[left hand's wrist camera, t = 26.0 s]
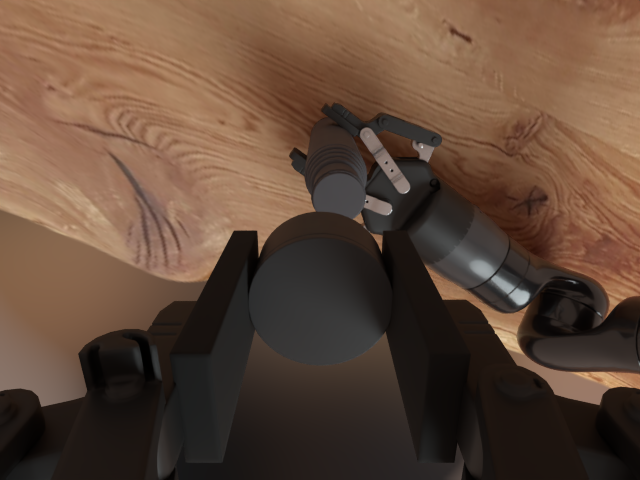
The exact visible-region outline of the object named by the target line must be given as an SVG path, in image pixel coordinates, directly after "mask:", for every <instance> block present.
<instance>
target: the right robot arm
mask: <svg viewBox="0 0 640 480" xmlns="http://www.w3.org/2000/svg"><path fill="white" fill-rule="evenodd" d="M321 111H322V112H323V113H324V114H325V115H327V116H328V117H329V118H331V119H332V120H333V121H335V122H336V123H337V124H339V125H340V126H341V127H343V128H344V129H345V130H347V131H348V132H349V133H350V134H352V135H353V136H354V137H355V136H356V135H357V136H358V137H360V138H361V139H362V141H363V142H364V144H365V145H366V146H367V148H368V149H369V151H370V152H371V153H372V155H373V156H374V158H375V159H376V162H375V163H374V164H373V166H372V167H371V170H370V172H369V174H368V175H367V182H366V186H365V192H366V202H365V205H364V208H363V209H362V211H361V214H362V217H363V221H364V223H362V224H361V225H362V226H363V227H364V228H365V229H366V230H368V231H369V233H372V234H379V235H382V236H383V231H407V233H408V235H409V237H410V239H411V241H412V242H413V244H414V246H415V248H416V250H417V252H418V254H419V256H420V258H421V260H422V262H423V263H424V265H426V266H427V267H428V268H430V269H431V270H433V271H434V272H435V273H437V274H438V275H440V276H441V277H443V278H445V279H446V280H448V281H450V282H452V283H454V284H456V285H458V286H459V287H461V288H462V289H464V290H465V291H467V292H468V293H469V294H471V295H472V296H474V297H475V298H476V299H478V300H479V301H480V302H482V303H483V304H485V305H486V306H487V307H489V308H491V309H492V310H494V311H496V312H499V313H503V314H511V313H515V312H518V311H520V310H522V309H523V308H525V307H526V306H527V305H529V306H528V308H527V310H526V312H525V315H524V317H523V319H522V321H521V323H520V326H519V328H518V332H517V341H518V345H519V347H520V348H521V350H522V351H523V353H524V354H525V355H526V356H527V357H528V358H530V359H531V360H532V361H534V362H535V363H537V364H539V365H541V366H544V367H546V368H550V369H554V370H558V371H566V372H619V373H634V374H640V296H633V297H629V298H626V299H624V300H623V301H621V302H620V303H619V304H618V305H617V306H616V307H615V308H614V309H613V310H612V311H611V313H610V314H609V315H608V317H607V318H606V316H607V313H608V310H609V298H608V295H607V293H606V291H605V289H604V288H603V287H602V285H601V284H600V283H599V282H597V281H596V280H595V279H593V278H591V277H588V276H586V275H584V274H581V273H578V272H575V271H572V270H569V269H566V268H564V267H561V266H558V265H556V264H554V263H552V262H549V261H547V260H545V259H543V258H541V257H538V256H536V255H534V254H533V253H531V252H529V251H528V250H527V249H526V248H524V247H523V246H522V245H521V244H519V243H518V242H517V241H515V240H514V239H513V238H511V237H510V236H509V235H508V234H506V233H505V232H504V231H503V230H502V229H501V228H500V227H499V226H498V225H497V224H496V223H495V222H494V221H493V220H492V219H491V218H490V217H489V216H487V215H486V214H485V213H484V212H482V211H481V210H480V209H479V207H477V206H476V205H474V204H472V203H471V202H469V201H468V200H467V199H466V198H464V197H463V196H462V195H460V194H459V193H458V192H457V191H455V190H454V189H453V188H451V187H450V186H449V185H448V184H446V183H445V182H444V181H442V180H441V179H440V178H439V177H437V176H436V175H435V174H434V173H433V171H432V169H431V166H430V164H429V163H428V161H429V159H430V157H431V155H432V152H433V150H434V148H435V147H438V146H439V145H440V144H441V142H442V138H441V136H440V135H439V134H437V133H435V132H434V131H432V130H429V129H426V128H424V127H421V126H418V125H416V124H413V123H410V122H407V121H405V120H402V119H399V118H397V117H394V116H391V115H388V114H386V113H379V114H377V116H376V117H374V118H373V119H371V120H370V121H366V122H365V121H361V120H360V119H359V118H357V117H356V116H355V115H353V114H352V113H351V112H350V111H348V110H347V109H346V108H344V107H343V106H342V105H341V104H338V103H334V104H333V105H332V106H331V107H330V106H329V105H328V104H326V103H325V105H324V106H323V108H322V109H321ZM383 130H387V131H390V132H393V133H395V134H398V135H401V136H404V137H406V138H409V139H411V146H412V147H413V148H414V149H415V150H417V152H418V156H417V157H391V156H390V155H389V154H388V152H387V151H386V149H385V148H384V147H383V145H382V144H381V142H380V141H379V139H378V138H377V136H376V135H377V134H379V133H380V132H382V131H383ZM289 157H290V158H291V159H292V160H293V161H292V164H291V165H292V166H293V168H294V169H295V170H296V171H298V172H299V173H301V174H302V175H304V176H305V166H306V160H307V155H305V154H304V153H303V152H301V151H300V150H298V149H297V148H295V147H294V148H293V150H292V151H291V153H290V155H289ZM605 318H606V319H605Z"/></svg>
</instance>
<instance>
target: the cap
mask: <svg viewBox="0 0 640 480" xmlns="http://www.w3.org/2000/svg"><path fill="white" fill-rule="evenodd" d="M392 297H393V289H392V285H391V281H390V279H389V275H388V272H387V269H386V266H385V263H384V260H383V257H382V254H381V251H380V248H379V246H378V244H377V242H376V241H375V239H374V237H373V236H372V235H371V234H370V233H369V231H368V230H366V229H365V228H364V227H363V226H362V225H361V224H359V223H358V222H356V221H355V220H353V219H351V218H349V217H346V216H344V215H341V214H337V213H332V212H310V213H305V214H301V215H298V216H296V217H293V218H291V219H289V220H287V221H286V222H284V223H283V224H281V225H280V226H279V227H277V228H276V229H275V230H274V231H273V232H272V233H271V235H270V236H269V237H268V239H267V240H266V242H265V244H264V246H263V248H262V251H261V253H260V256H259V259H258V262H257V265H256V269H255V272H254V275H253V278H252V281H251V284H250V288H249V293H248V305H249V314H250V318H251V321H252V323H253V326H254V328H255V329H256V331H257V333H258V334H259V336H260V337H261V338H262V340H263V341H264V342H265V343H266V344H267V345H268V346H269V347H270V348H272V349H273V350H274V351H276V352H277V353H279V354H280V355H282V356H284V357H286V358H288V359H290V360H293V361H296V362H299V363H304V364H309V365H333V364H338V363H343V362H346V361H349V360H352V359H354V358H356V357H358V356H360V355H362V354H363V353H365V352H366V351H368V350H369V349H370V348H371V347H373V346H374V345H375V344H376V343H377V342H378V341H379V340H380V338H381V337H382V335H383V334H384V333H385V331H386V329H387V327H388V325H389V323H390V320H391V311H392Z"/></svg>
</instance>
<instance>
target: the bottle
mask: <svg viewBox="0 0 640 480" xmlns="http://www.w3.org/2000/svg"><path fill="white" fill-rule="evenodd" d="M305 182H306V186H307V189H308V191H309V193H310V194H311V200H312V204H313V207H314V209H315V210H316V212H332V213H337V214H341V215H344V216H346V217H349V218H351V219H353V218H355V217H356V216H357V215H358V214H360V212H361V211H362V209H363V208H364V205H365V202H366V192H365V186H366V182H367V170H366V165H365V162H364V160H363V158H362V156H361V154H360V151H359V149H358V147H357V145H356V143H355V141H354V138H353V136H352V134H350V133H349V132H348V131H347V130H345V129H344V128H343V127H341V126H340V125H339V124H337V123H336V122H335V121H333V120H332V119H331V118H329V117H326V118H323V119H321V120H320V121H318V122H317V123H316V124H315V125H314V127H313V129H312V132H311V136H310V142H309V148H308V154H307V160H306V166H305Z"/></svg>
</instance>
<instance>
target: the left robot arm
mask: <svg viewBox="0 0 640 480" xmlns="http://www.w3.org/2000/svg"><path fill="white" fill-rule="evenodd" d="M382 257H383V260H384V263H385V266H386V269H387V272H388V275H389V279H390V281H391V285H392V289H393V297H392V311H391V320H390V323H389V325H388V327H387V329H386V335H387V339H388V343H389V347H390V351H391V355H392V359H393V363H394V367H395V371H396V375H397V379H398V383H399V387H400V391H401V395H402V400H403V403H404V408H405V411H406V416H407V420H408V424H409V428H410V432H411V436H412V440H413V444H414V448H415V452H416V456H417V460H418V463H454V461H455V455H456V448H457V442H458V445H459V448H460V450H461V453H462V456H463V459H464V467H463V473H462V479H461V480H640V389H637V388H628V387H617V388H611V389H609V390H608V391H606V392H605V393H604V394H603V396H602V399H601V403H600V405H596V404H591V403H587V402H582V401H577V400H573V399H568V398H565V397H561V396H558V395H555V394H554V392H553V390H552V389H551V387H550V386H549V384H548V383H547V381H545V380H544V379H543V378H542V377H540V376H539V375H538V374H536V373H535V372H532V371H530V370H528V369H526V368H524V367H521V366H517V365H516V363H515V362H514V360H513V359H512V357H511V356H510V354H509V352H508V351H507V349H506V348H505V346H504V345H503V343H502V342H501V340H500V339H499V337H498V336H497V334H495V331H494V330H493V328H492V327H491V325H490V324H488V321H487V319H486V318H485V316H484V314H483V313H482V311H481V310H480V309H478V308H477V307H476V306H474V305H473V304H471V303H470V302H468V301H467V300H442V298H441V296H440V294H439V292H438V290H437V288H436V286H435V284H434V283H433V281H432V279H431V277H430V275H429V273H428V271H427V269H426V267H425V265H424V263H423V262H422V260H421V258H420V256H419V254H418V252H417V250H416V248H415V246H414V244H413V242H412V241H411V239H410V237H409V235H408V233H407V231H383V241H382ZM258 259H259V253H258V236H257V231H234V232H233V233H232V235H231V237H230V239H229V241H228V243H227V245H226V247H225V249H224V251H223V253H222V254H221V256H220V258H219V260H218V262H217V264H216V266H215V268H214V270H213V272H212V274H211V275H210V277H209V279H208V281H207V283H206V285H205V287H204V289H203V291H202V293H201V295H200V297H199V299H198V300H197V301H174V302H173V303H171V304H170V305H168V306H167V307H166V308H164V309H163V310H161V311H160V312H159V314H158V315H157V317H156V318H155V320H154V321H153V323H152V326H150V327H149V329H148V331H144V330H140V329H124V330H119V331H114V332H110V333H107V334H105V335H102V336H100V337H97V338H95V339H94V340H92V341H91V342H89V343H88V344H86V345H85V346H84V347H83V349H82V350H81V351H80V352H79V354H78V355H79V359H80V363H81V367H82V371H83V375H84V379H85V383H86V387H87V393H86V395H85V397H82V398H79V399H75V400H71V401H67V402H62V403H58V404H53V405H48V406H44V407H41V405H40V401H39V398H38V396H37V395H36V394H35V393H34V392H32V391H30V390H25V389H11V390H4V391H0V480H178V474H177V467H176V462H177V459H178V456H179V454H180V451H181V448H182V445H183V446H184V453H185V459H186V463H222V462H223V457H224V453H225V449H226V445H227V441H228V437H229V433H230V429H231V425H232V421H233V417H234V413H235V409H236V405H237V401H238V397H239V393H240V389H241V384H242V380H243V376H244V372H245V368H246V364H247V360H248V356H249V352H250V348H251V344H252V340H253V336H254V332H255V328H254V326H253V323H252V321H251V318H250V314H249V305H248V293H249V288H250V284H251V281H252V278H253V275H254V272H255V269H256V265H257V262H258Z"/></svg>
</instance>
